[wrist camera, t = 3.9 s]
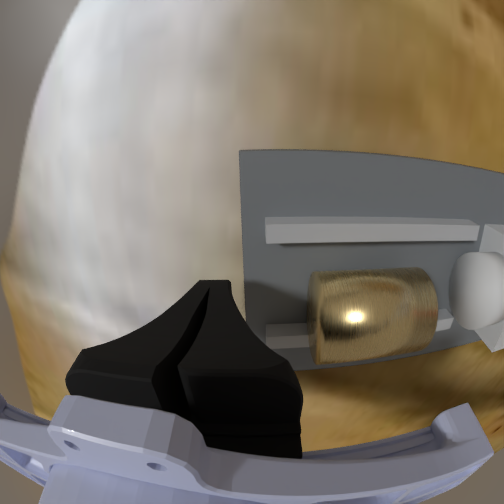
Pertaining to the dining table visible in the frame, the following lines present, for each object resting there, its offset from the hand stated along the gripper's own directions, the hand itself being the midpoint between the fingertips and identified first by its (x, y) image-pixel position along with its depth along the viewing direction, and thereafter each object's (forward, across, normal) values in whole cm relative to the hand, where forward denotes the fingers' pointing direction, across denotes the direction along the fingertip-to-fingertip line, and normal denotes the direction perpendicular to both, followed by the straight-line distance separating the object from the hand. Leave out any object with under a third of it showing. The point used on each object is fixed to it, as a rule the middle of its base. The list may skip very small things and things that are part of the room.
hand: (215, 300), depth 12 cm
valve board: (+2, -10, 0) cm, 10 cm away
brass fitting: (+1, -7, 0) cm, 7 cm away
